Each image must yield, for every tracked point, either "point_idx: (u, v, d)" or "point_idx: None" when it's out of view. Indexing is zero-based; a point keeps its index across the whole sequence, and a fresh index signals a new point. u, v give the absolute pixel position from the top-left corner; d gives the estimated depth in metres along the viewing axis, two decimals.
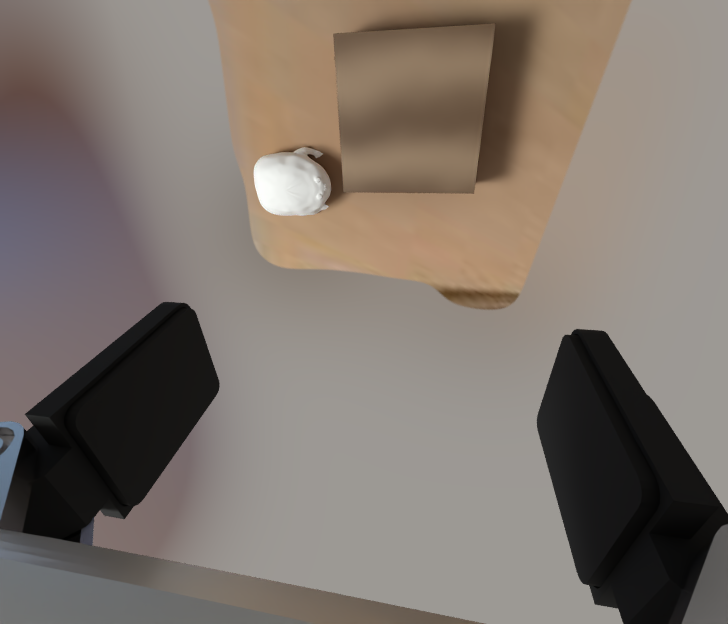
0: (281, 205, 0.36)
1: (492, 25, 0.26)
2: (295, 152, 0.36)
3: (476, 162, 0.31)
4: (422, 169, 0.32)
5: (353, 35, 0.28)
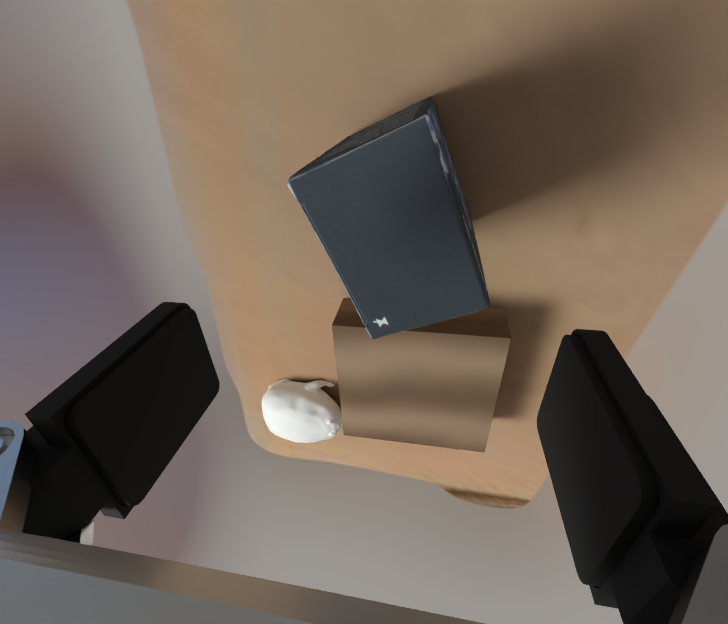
0: (291, 438, 0.34)
1: (507, 339, 0.24)
2: (306, 388, 0.33)
3: (487, 431, 0.29)
4: (429, 429, 0.30)
5: (354, 329, 0.25)
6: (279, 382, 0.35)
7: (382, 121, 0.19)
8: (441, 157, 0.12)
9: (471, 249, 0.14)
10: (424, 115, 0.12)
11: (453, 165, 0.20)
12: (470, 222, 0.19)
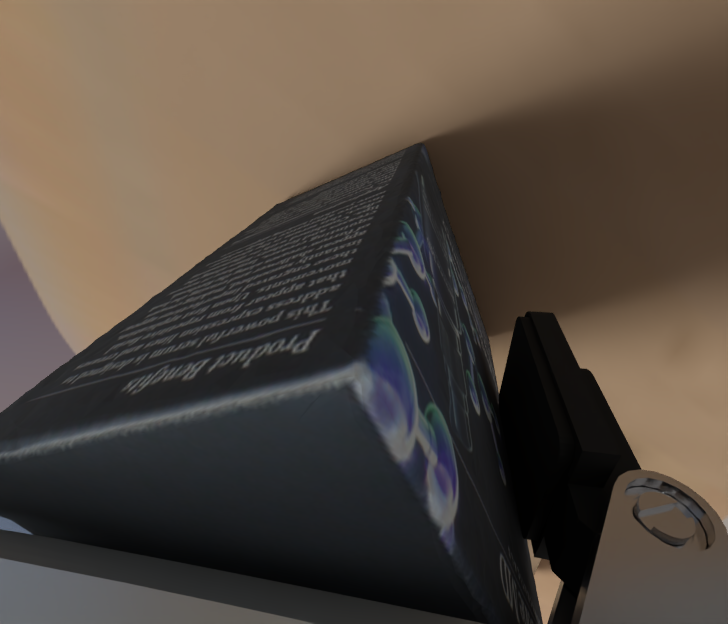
0: None
1: None
2: None
3: None
4: None
5: None
6: None
7: (323, 194, 0.09)
8: (432, 490, 0.03)
9: None
10: (350, 367, 0.02)
11: (461, 271, 0.11)
12: (493, 387, 0.10)
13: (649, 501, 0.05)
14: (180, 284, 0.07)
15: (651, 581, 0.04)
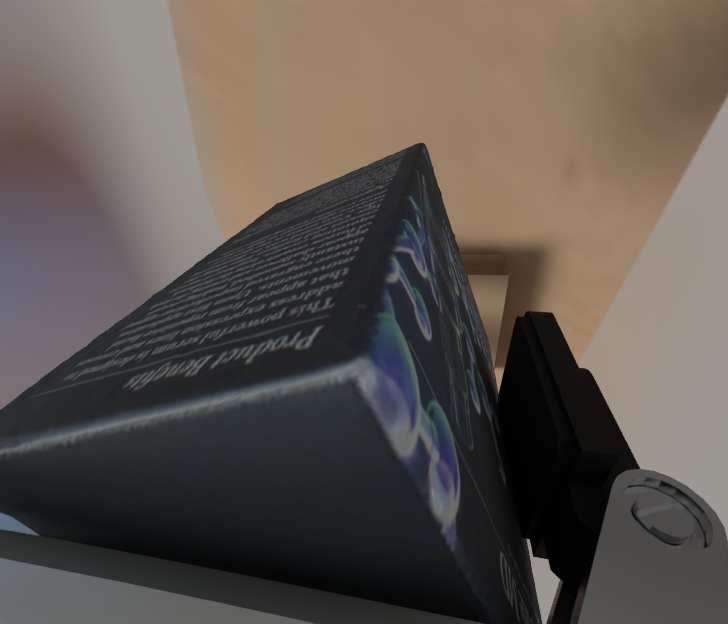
0: None
1: (506, 276, 0.26)
2: None
3: None
4: None
5: None
6: None
7: (324, 193, 0.09)
8: (434, 486, 0.03)
9: None
10: (354, 362, 0.02)
11: (461, 270, 0.11)
12: (493, 386, 0.10)
13: (648, 500, 0.05)
14: (181, 282, 0.07)
15: (650, 580, 0.04)
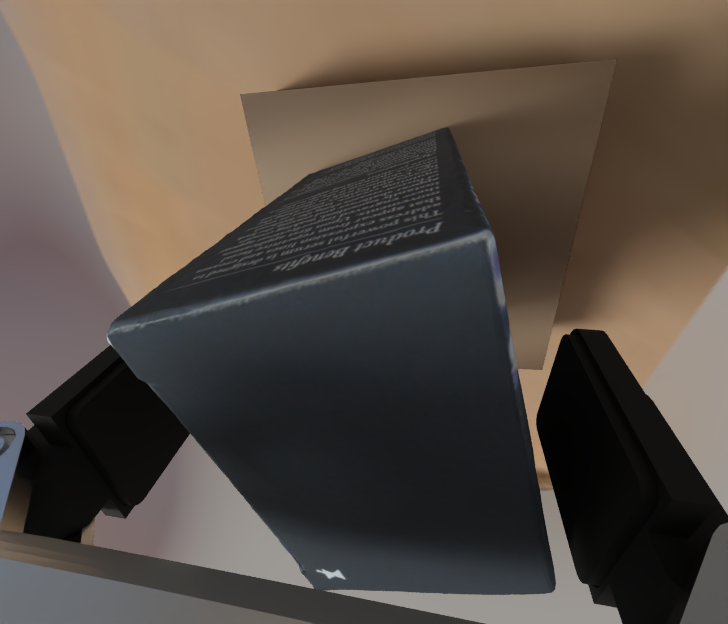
0: None
1: (608, 64, 0.11)
2: None
3: (550, 323, 0.16)
4: None
5: (283, 96, 0.13)
6: None
7: (364, 163, 0.11)
8: (510, 338, 0.04)
9: (541, 509, 0.06)
10: (481, 232, 0.04)
11: None
12: None
13: None
14: (252, 224, 0.08)
15: None
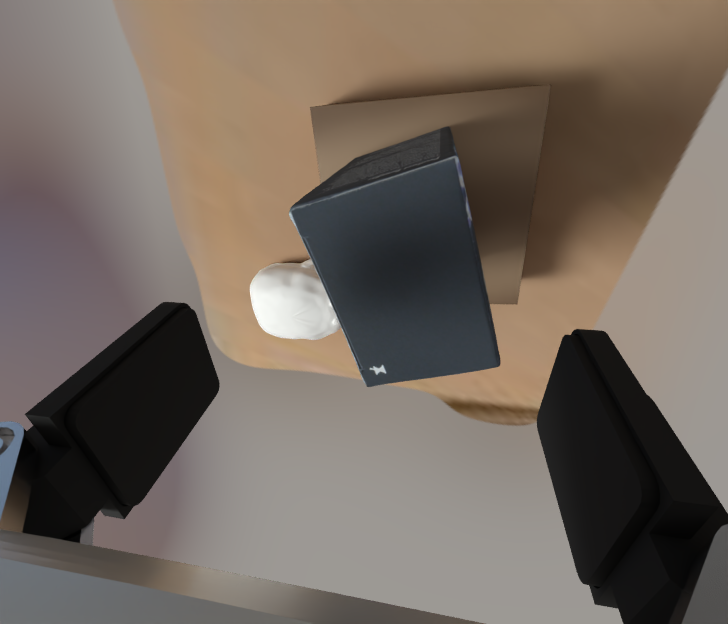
0: (286, 332, 0.28)
1: (546, 87, 0.17)
2: (303, 266, 0.27)
3: (520, 266, 0.22)
4: None
5: (338, 108, 0.19)
6: (270, 266, 0.29)
7: (395, 147, 0.17)
8: (467, 203, 0.11)
9: (487, 304, 0.12)
10: (453, 156, 0.10)
11: None
12: None
13: None
14: (336, 177, 0.15)
15: None
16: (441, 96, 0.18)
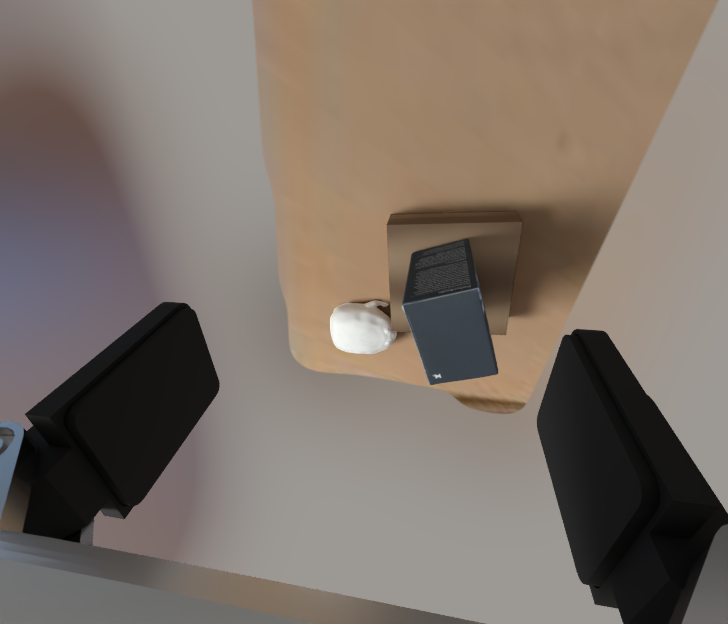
0: (354, 349, 0.42)
1: (520, 223, 0.32)
2: (367, 306, 0.42)
3: (507, 313, 0.37)
4: None
5: (403, 226, 0.34)
6: (343, 305, 0.43)
7: (440, 254, 0.32)
8: (482, 304, 0.25)
9: (491, 345, 0.27)
10: (477, 287, 0.25)
11: None
12: None
13: None
14: (414, 278, 0.29)
15: None
16: (462, 223, 0.33)
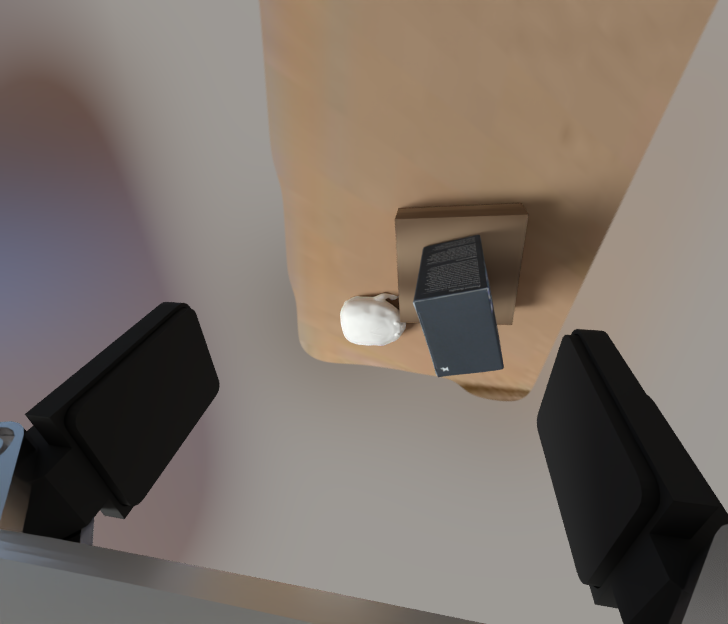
0: (364, 341, 0.44)
1: (526, 216, 0.33)
2: (376, 299, 0.43)
3: (513, 304, 0.37)
4: None
5: (411, 220, 0.35)
6: (352, 298, 0.44)
7: (451, 251, 0.32)
8: (491, 304, 0.26)
9: (498, 342, 0.28)
10: (486, 287, 0.26)
11: None
12: None
13: None
14: (425, 275, 0.30)
15: None
16: (469, 217, 0.33)
